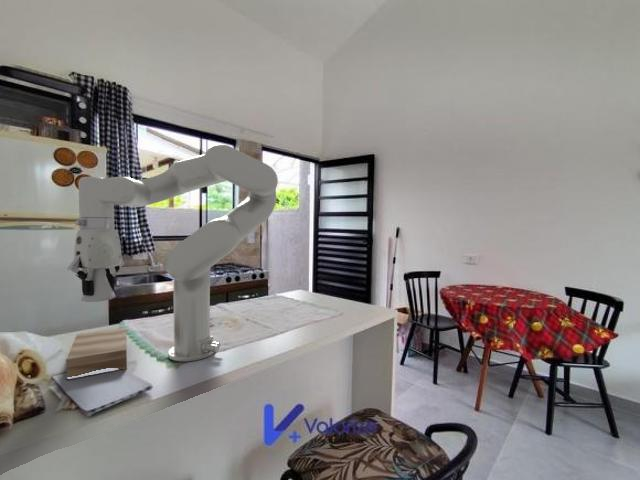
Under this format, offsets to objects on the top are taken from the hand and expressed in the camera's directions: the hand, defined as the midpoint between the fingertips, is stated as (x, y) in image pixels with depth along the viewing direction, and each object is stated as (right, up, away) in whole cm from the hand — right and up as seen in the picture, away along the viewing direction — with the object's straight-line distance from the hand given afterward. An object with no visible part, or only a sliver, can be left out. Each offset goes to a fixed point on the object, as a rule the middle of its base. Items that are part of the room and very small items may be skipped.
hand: (98, 292), depth 86 cm
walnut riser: (0, -18, +1) cm, 18 cm away
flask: (0, -2, 0) cm, 2 cm away
